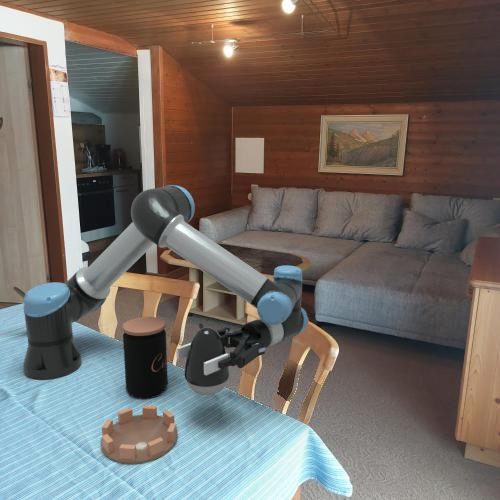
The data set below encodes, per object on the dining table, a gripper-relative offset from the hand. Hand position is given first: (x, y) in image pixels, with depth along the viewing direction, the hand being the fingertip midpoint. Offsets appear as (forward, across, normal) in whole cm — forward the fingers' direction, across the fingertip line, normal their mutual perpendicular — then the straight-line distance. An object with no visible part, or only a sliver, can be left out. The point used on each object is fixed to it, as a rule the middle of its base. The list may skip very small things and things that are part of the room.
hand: (190, 361), depth 100 cm
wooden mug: (+5, +77, -17) cm, 79 cm away
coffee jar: (-1, +20, -16) cm, 26 cm away
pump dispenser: (-5, 0, -9) cm, 10 cm away
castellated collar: (+11, +4, -16) cm, 20 cm away
